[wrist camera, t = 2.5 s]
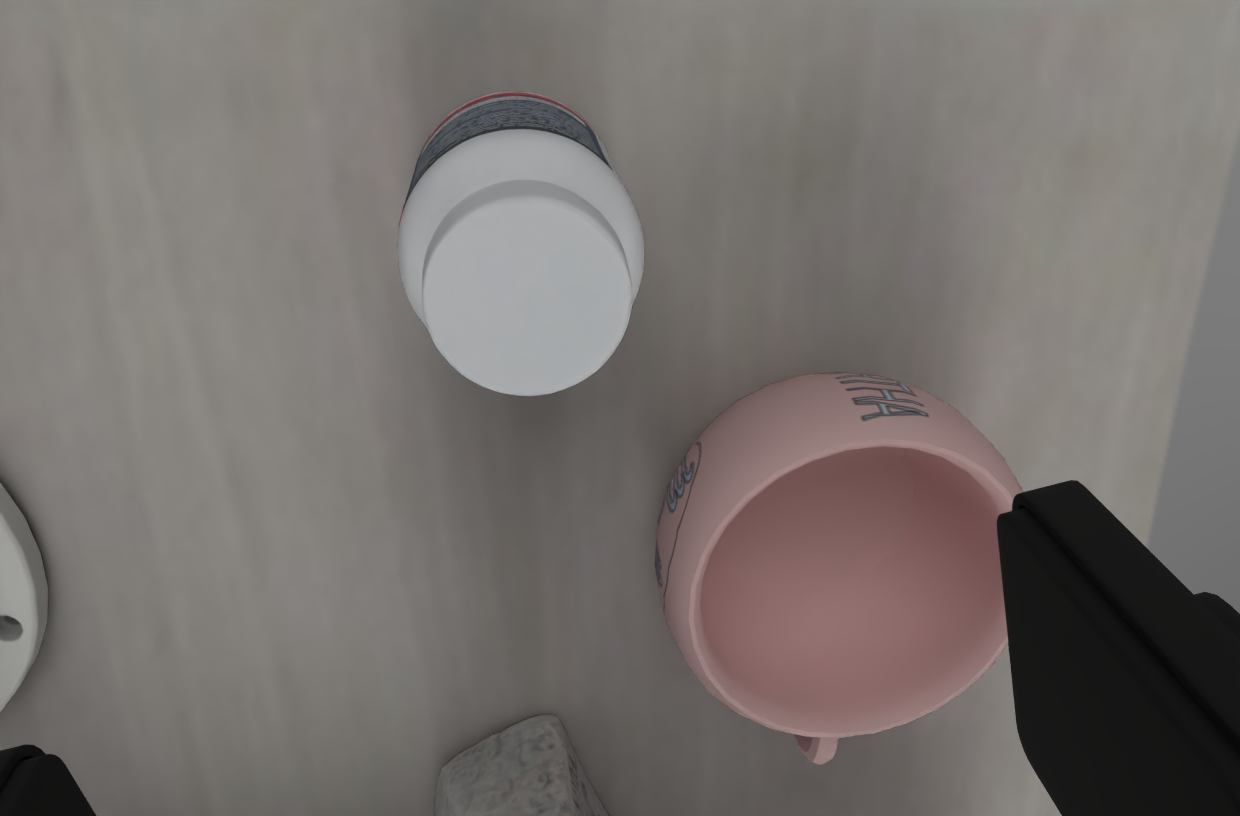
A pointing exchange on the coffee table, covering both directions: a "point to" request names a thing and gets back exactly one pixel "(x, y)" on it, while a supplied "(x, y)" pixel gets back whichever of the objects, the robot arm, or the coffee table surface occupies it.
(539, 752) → the decorative stone
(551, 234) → the pill bottle
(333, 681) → the coffee table surface
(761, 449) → the mug
